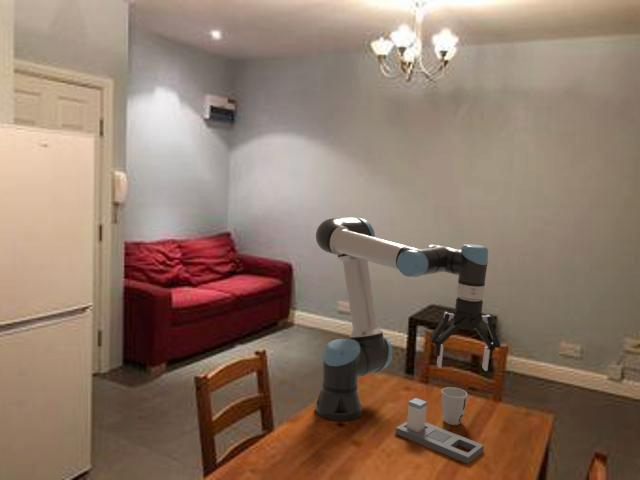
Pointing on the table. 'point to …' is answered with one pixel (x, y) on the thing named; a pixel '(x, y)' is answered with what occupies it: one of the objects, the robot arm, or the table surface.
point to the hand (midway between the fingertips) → (461, 367)
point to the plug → (416, 415)
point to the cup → (453, 404)
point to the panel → (442, 441)
